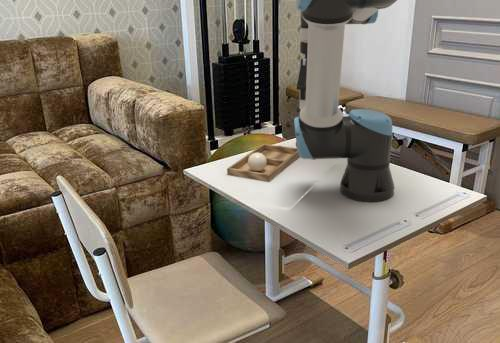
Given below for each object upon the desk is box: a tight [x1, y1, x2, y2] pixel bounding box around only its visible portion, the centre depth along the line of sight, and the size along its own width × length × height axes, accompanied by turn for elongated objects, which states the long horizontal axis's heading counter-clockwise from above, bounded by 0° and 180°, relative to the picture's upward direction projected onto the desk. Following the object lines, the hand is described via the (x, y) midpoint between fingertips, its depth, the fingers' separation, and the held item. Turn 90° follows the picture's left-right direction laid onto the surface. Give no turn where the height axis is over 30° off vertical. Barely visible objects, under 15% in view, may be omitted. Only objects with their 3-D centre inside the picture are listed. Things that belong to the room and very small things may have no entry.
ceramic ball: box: [248, 153, 267, 171], centre depth 157 cm, size 6×6×6 cm
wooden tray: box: [226, 143, 301, 183], centre depth 163 cm, size 15×26×3 cm, turn 152°
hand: (310, 104), depth 171 cm, fingers open, 13 cm apart
